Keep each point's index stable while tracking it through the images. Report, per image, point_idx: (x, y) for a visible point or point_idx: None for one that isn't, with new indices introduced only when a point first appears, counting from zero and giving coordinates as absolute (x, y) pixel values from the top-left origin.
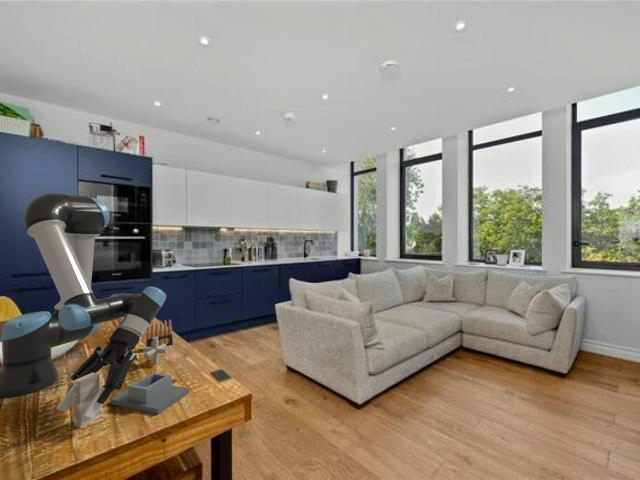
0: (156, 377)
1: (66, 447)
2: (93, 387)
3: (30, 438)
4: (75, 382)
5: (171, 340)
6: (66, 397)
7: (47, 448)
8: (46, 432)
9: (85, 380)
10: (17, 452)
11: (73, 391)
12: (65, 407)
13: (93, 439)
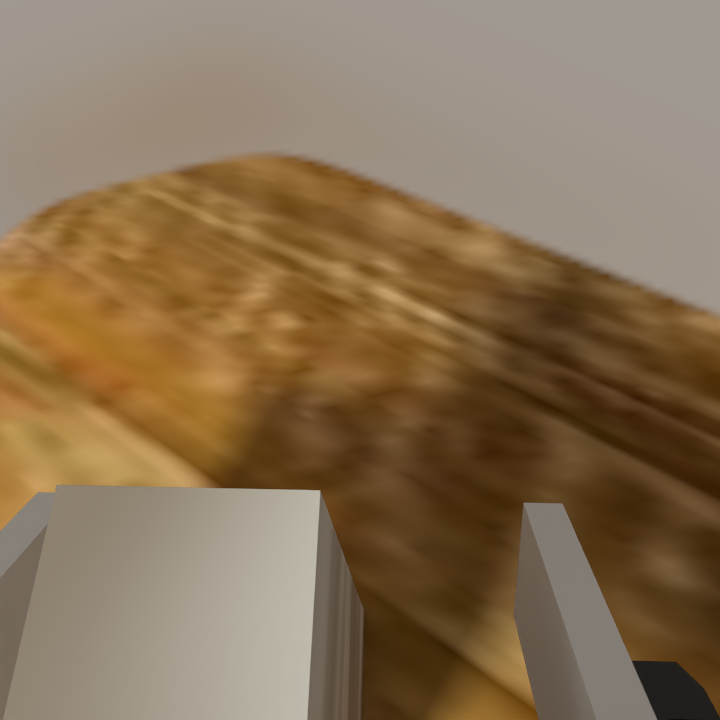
0: None
1: (144, 386)
2: None
3: (551, 378)
4: (237, 494)
5: None
6: (557, 601)
7: (278, 341)
8: (518, 468)
9: (32, 641)
10: (445, 261)
11: (339, 544)
12: (522, 597)
13: (3, 516)
